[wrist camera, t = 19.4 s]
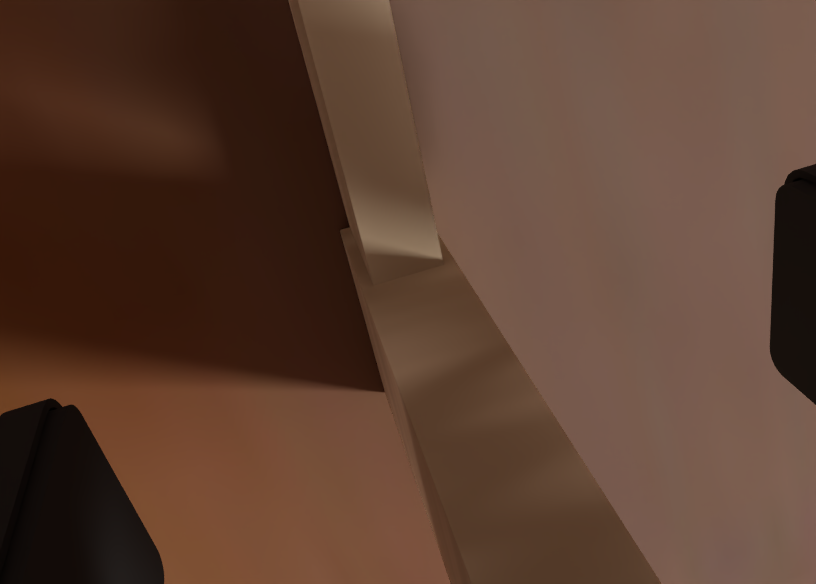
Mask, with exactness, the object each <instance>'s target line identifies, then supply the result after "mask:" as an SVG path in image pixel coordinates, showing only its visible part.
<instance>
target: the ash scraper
mask: <svg viewBox="0 0 816 584" xmlns="http://www.w3.org/2000/svg"><path fill="white" fill-rule="evenodd" d="M288 1H289V5H290V9H291V12H292V16H293V20H294V23H295V27H296V31H297V34H298V38H299V42H300V45H301V49H302V53H303V56H304V60H305V64H306V68H307V71H308V75H309V79H310V82H311V86H312V90H313V93H314V97H315V101H316V104H317V108H318V112H319V115H320V119H321V123H322V126H323V130H324V134H325V137H326V141H327V145H328V149H329V152H330V156H331V160H332V163H333V167H334V171H335V174H336V178H337V182H338V185H339V189H340V193H341V196H342V200H343V204H344V207H345V211H346V215H347V218H348V222H349V226H350V227H349V228H345V229H342V230H340V233H341V237H342V240H343V244H344V247H345V251H346V255H347V258H348V262H349V265H350V269H351V272H352V276H353V280H354V283H355V287H356V290H357V294H358V297H359V301H360V305H361V308H362V312H363V315H364V319H365V322H366V326H367V330H368V333H369V337H370V340H371V344H372V347H373V351H374V355H375V358H376V362H377V365H378V369H379V372H380V376H381V380H382V383H383V387H384V390H385V394H386V397H387V400H388V403H389V405H390V408H391V411H392V414H393V417H394V420H395V423H396V426H397V429H398V432H399V434H400V437H401V440H402V443H403V446H404V449H405V452H406V455H407V458H408V461H409V463H410V466H411V469H412V472H413V475H414V478H415V481H416V484H417V487H418V490H419V493H420V495H421V498H422V501H423V504H424V507H425V510H426V513H427V516H428V519H429V522H430V524H431V527H432V530H433V533H434V536H435V539H436V542H437V545H438V548H439V551H440V553H441V556H442V559H443V562H444V565H445V568H446V571H447V574H448V577H449V580H450V582H451V584H661V582H660V581H659V579H658V577H657V576H656V574H655V573H654V571H653V570H652V568H651V566H650V565H649V563H648V562H647V560H646V559H645V557H644V556H643V554H642V552H641V551H640V549H639V548H638V546H637V545H636V543H635V541H634V540H633V538H632V537H631V535H630V534H629V532H628V531H627V529H626V527H625V526H624V524H623V523H622V521H621V520H620V518H619V516H618V515H617V513H616V512H615V510H614V509H613V507H612V505H611V504H610V502H609V501H608V499H607V498H606V496H605V495H604V493H603V491H602V490H601V488H600V487H599V485H598V484H597V482H596V480H595V479H594V477H593V476H592V474H591V473H590V471H589V470H588V468H587V466H586V465H585V463H584V462H583V460H582V459H581V457H580V455H579V454H578V452H577V451H576V449H575V448H574V446H573V444H572V443H571V441H570V440H569V438H568V437H567V435H566V434H565V432H564V430H563V429H562V427H561V426H560V424H559V423H558V421H557V419H556V418H555V416H554V415H553V413H552V412H551V410H550V409H549V407H548V405H547V404H546V402H545V401H544V399H543V398H542V396H541V394H540V393H539V391H538V390H537V388H536V387H535V385H534V383H533V382H532V380H531V379H530V377H529V376H528V374H527V373H526V371H525V369H524V368H523V366H522V365H521V363H520V362H519V360H518V358H517V357H516V355H515V354H514V352H513V351H512V349H511V348H510V346H509V344H508V343H507V341H506V340H505V338H504V337H503V335H502V333H501V332H500V330H499V329H498V327H497V326H496V324H495V322H494V321H493V319H492V318H491V316H490V315H489V313H488V312H487V310H486V308H485V307H484V305H483V304H482V302H481V301H480V299H479V297H478V296H477V294H476V293H475V291H474V290H473V288H472V286H471V285H470V283H469V282H468V280H467V279H466V277H465V276H464V274H463V272H462V271H461V269H460V268H459V266H458V265H457V263H456V261H455V260H454V258H453V257H452V255H451V254H450V252H449V251H448V249H447V247H446V246H445V244H444V243H443V241H442V240H441V238H440V236H439V235H438V233H437V229H436V225H435V220H434V215H433V210H432V205H431V201H430V196H429V191H428V186H427V181H426V176H425V172H424V167H423V162H422V157H421V152H420V147H419V143H418V138H417V133H416V128H415V123H414V118H413V114H412V109H411V104H410V99H409V94H408V90H407V85H406V80H405V75H404V70H403V65H402V61H401V56H400V51H399V46H398V41H397V36H396V32H395V27H394V22H393V17H392V12H391V7H390V3H389V0H288Z"/></svg>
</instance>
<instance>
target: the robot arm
mask: <svg viewBox="0 0 816 584" xmlns="http://www.w3.org/2000/svg"><path fill="white" fill-rule="evenodd" d="M770 354H771V357H772V360H773V363H774V365H775V367H776V368H777V370H778V371H779V372H780V373H781V375H782V376H783V377H785V378H786V379H787V380H788V381H789V382H790V383H791V384H793V385H794V386H795V387H796V388H797V389H798V390H799V391H801V392H802V393H803V394H804V395H805V396H806V397H807V398H809V399H810V400H811V401H812V402H813V403H814V404H815V405H816V164H814V165H811V166H807V167H804V168H801V169H798V170H794V171H792V172H791V173H790V174H789V175H788V176H787V178H786V180H785V184H784V185H782V186H781V187H780V188H779V189H778V191H777V193H776V200H775V226H774V253H773V279H772V305H771V331H770ZM0 584H164V571H163V565H162V561H161V558H160V555H159V552H158V550H157V548H156V546H155V544H154V543H153V541H152V539H151V537H150V536H149V534H148V532H147V530H146V528H145V527H144V525H143V523H142V521H141V519H140V518H139V516H138V514H137V512H136V511H135V509H134V507H133V505H132V503H131V502H130V500H129V498H128V496H127V495H126V493H125V491H124V489H123V487H122V486H121V484H120V482H119V480H118V478H117V477H116V475H115V473H114V471H113V470H112V468H111V466H110V464H109V462H108V461H107V459H106V457H105V455H104V453H103V452H102V450H101V448H100V446H99V445H98V443H97V441H96V439H95V437H94V436H93V434H92V432H91V430H90V428H89V427H88V425H87V423H86V421H85V420H84V418H83V416H82V414H81V413H80V411H79V410H78V408H76V407H75V406H74V405H68V406H64V407H62V406H61V405H60V404H59V403H58V402H57V401H56V400H54V399H51V398H50V399H47V400H44V401H40V402H37V403H34V404H31V405H27V406H24V407H21V408H18V409H14V410H11V411H8V412H5V413H3V414H2V415H1V416H0Z"/></svg>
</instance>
